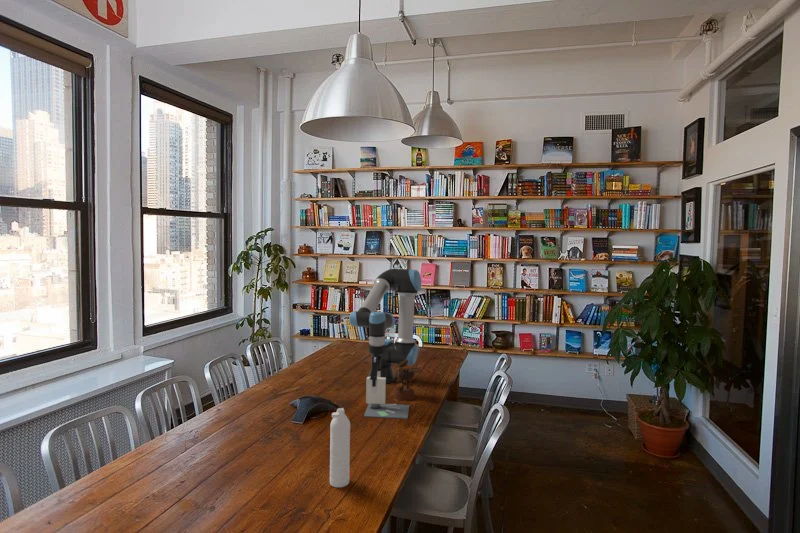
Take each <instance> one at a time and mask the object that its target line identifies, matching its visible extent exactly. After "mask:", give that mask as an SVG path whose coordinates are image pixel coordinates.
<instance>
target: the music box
mask: <svg viewBox="0 0 800 533" xmlns="http://www.w3.org/2000/svg"><path fill="white" fill-rule="evenodd" d="M407 363H408V360H404V361H402V362H400V363H399V364H396V365H394V368H398V369H397V370H396V371H395V372H396V373H395V374H396V377H397V379H396V383H397V385H396V387H395V389H394V391H393V398H394V399H396V400H398V401H411V400H414V398H415V390H414V389H413V388H411V387H409V385H410V383H412V380H411V379H412V378H414V376H415V371H414V369H412V368H409V367H408V365H407Z"/></svg>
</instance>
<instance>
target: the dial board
mask: <svg viewBox="0 0 800 533" xmlns="http://www.w3.org/2000/svg"><path fill="white" fill-rule="evenodd" d="M395 404H396V406H380V408H372V407H371V404H369V403H367V407H366V410H365V412H364V415H363V417H366V418H383V419H400V420H401V419H406V420H407V419H409V418H408V417H409V411H410V405H409V404H397V403H395Z"/></svg>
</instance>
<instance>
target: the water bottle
mask: <svg viewBox="0 0 800 533" xmlns="http://www.w3.org/2000/svg"><path fill="white" fill-rule="evenodd" d="M345 411H346V410H345V409H344V407H338V408H337V409H336V412H335V411H334V412H332V413H331V417H332V419H331V422H330V425H329V429H330V434H329V435H330V437H329V439H330V440H329V441H330V442H329V445H330V446H329V453H330V454H329V484H330V486H332V487H334V488H345V487H347V486H348V485H349V484H350V466H351V463H350V461H351V458H350V456H351V452H350V451H351V442H350V441H351V422H350V419H349V418H348V417H347V415H346V413H345Z"/></svg>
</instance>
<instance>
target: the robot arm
mask: <svg viewBox="0 0 800 533" xmlns="http://www.w3.org/2000/svg"><path fill="white" fill-rule="evenodd" d="M392 289H393V290H396V293H397V294H398V295H399V304H398V327H397V328H398V329H397V338H395V340H394V341H393V340H392V339H389V338H386V330H387V329H389V328H391V327H392V326H393V325H394V324H395V317H394V315H393V314H392V313H390V312H384V311H376V310H377V309H378V307H379V305H380V303H381V301H382V300H383V298H384V296H385V294H386V293H388V292H389V291H390V290H392ZM421 289H422V277H421V273H420V271H418V270H417V269H412V268H411V269H410V268H409V269H408V268H389V269H386V270H384V271H383V272H382V273H381V274H379V275H378V276H377V277H376V279H375V280H374V281H373V287H372V288H371V290H370V291H369V293H368V295H367V296H366V297H365V299H364V301H363V302H362V304H361V306H360V307H359V309H357V310H355V311H352V312H350V314H349V317H348V318H349V319H348V320H349V325H351V326H352V327H357V328H369V329H368V330H369V331H368V332H369V333H368V334H369V337H367V339H368V344H369V345H368V353H369V354H371V367H370V371H369V373H368V377H371V378H370V380H371V393H377V377H385V378H386V384H391V383H393V382H394V381H395V379H396V378H395V373H394V369H393V365H392V364H394V365H398V364H399V363H400V362H402V361H404V360H408V363H407V365H406V366H414V364H416V361H417V359H418V355H419V346H418V345H417V344H416V340H415V339H414V320H415V319H414V318H415V296H417V295H418V291H420V290H421Z"/></svg>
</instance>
